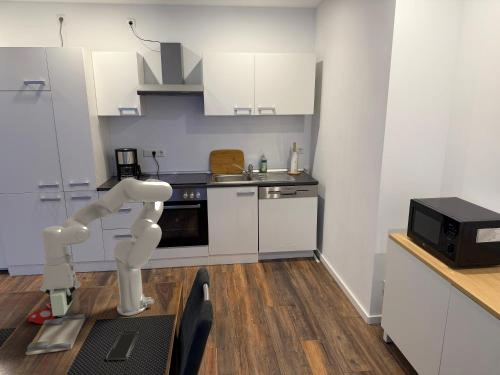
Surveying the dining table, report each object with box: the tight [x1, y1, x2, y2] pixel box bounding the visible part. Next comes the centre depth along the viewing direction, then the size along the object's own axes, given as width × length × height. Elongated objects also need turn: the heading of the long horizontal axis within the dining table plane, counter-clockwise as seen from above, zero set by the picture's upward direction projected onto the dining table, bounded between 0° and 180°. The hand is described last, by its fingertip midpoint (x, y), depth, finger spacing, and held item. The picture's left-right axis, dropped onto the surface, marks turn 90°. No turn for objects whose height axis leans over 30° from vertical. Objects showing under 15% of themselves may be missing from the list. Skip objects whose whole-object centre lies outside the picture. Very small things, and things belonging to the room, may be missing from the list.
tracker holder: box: [28, 303, 56, 325], centre depth 143 cm, size 12×4×10 cm
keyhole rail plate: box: [25, 313, 86, 356], centre depth 131 cm, size 15×19×2 cm
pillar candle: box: [57, 283, 82, 318], centre depth 145 cm, size 10×10×15 cm
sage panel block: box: [49, 288, 73, 317], centre depth 128 cm, size 4×10×8 cm, turn 12°
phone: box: [105, 331, 140, 361], centre depth 124 cm, size 8×1×15 cm
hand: (62, 303), depth 128 cm, fingers closed on sage panel block, 4 cm apart
